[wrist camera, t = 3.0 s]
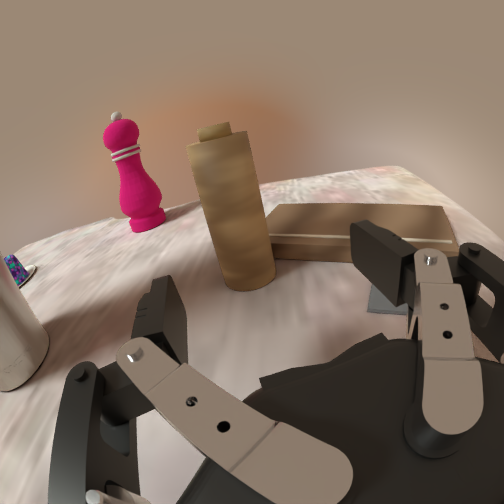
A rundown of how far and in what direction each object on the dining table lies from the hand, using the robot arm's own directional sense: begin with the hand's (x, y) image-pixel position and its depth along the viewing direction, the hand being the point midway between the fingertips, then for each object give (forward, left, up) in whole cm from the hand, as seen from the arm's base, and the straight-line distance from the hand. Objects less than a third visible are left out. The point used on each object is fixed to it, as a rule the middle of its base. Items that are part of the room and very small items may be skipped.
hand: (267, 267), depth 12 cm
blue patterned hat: (-52, -3, -8) cm, 52 cm away
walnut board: (+1, +17, -7) cm, 18 cm away
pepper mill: (-32, +20, -7) cm, 38 cm away
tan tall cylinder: (-7, +9, -7) cm, 13 cm away
